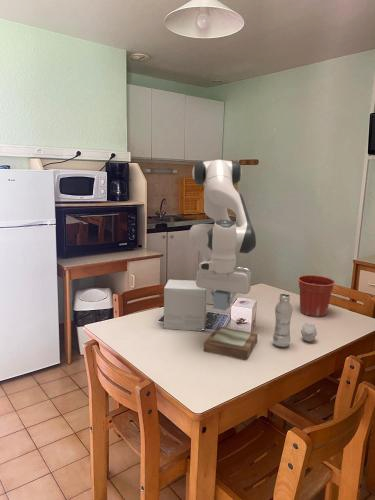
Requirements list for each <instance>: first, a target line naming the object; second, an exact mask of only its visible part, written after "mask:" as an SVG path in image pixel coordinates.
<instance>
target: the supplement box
mask: <svg viewBox="0 0 375 500" xmlns="http://www.w3.org/2000/svg"><path fill="white" fill-rule="evenodd" d="M206 295H207V289H206V288H200V287H197V285H196V280H191V279H190V280H187V279H186V280H185V279H182V280H181V279H168V280H167V282H166V284H165V286H164V287H163V329H164V330H168V329H169V330H178V331H179V330H180V331H181V330H183V331H195V332H196V331H197V332H203V331H202V329H204V328H205V329H206V324H205V323H207V303H206Z"/></svg>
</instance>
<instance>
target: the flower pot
mask: <svg viewBox="0 0 375 500" xmlns="http://www.w3.org/2000/svg"><path fill="white" fill-rule="evenodd" d="M297 281H298V287H299V312H300V313H301V314H303V315H304V316H311V317H313V318H322V317H326V316H327V314H328V311H329V310H328V309H329V306H330V300H331V296H332V295H331V294H332V292H333V288H334V285H335V283H336V281H335V280H334V279H332V278H329V277H327V276H322V275H321V276H320V275H314V274H313V275H300V276H298V277H297Z"/></svg>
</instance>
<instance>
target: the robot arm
mask: <svg viewBox="0 0 375 500" xmlns="http://www.w3.org/2000/svg"><path fill="white" fill-rule="evenodd" d="M242 169H243V168H242V166H241V163H240V162H239V161H237V160H225V159H215V160H205V161H203V160H201V161H200V160H199V161H196V162H195V163H194V165H193V168H192V170H191V171H192V172H191V176H192V179H193V180H194V181H193V182H194V183H195V184H196V185H199V186H204V189H203V190H204V191H203V212H204V213H205V215H206V216H207V217H209V219H210V218H211V219H212V220H214V223H200V224H199V223H198V224H193V225H192V226H191V227H190V229H189V231H188V237H189V238H188V239H189V240H190V242H191V243H192V245H194V246H195V247H196V248H197V249H198V251H199V253H200V255H201V258H202V261H201V262H200V263H199V264H198V270H197V272H196V277H195V281H196V285H197V287H200V288H206V289H207V295H206V305H207V304H208V305H213V297H214V292H215V291H216V290H220V291H227V292H231V298H228V303H230V305H231V304H233V303H234V298H235V296H237V294H240V295H241V294H242V295H247V294H249V293H250V292H251V286H252V285H251V279H252V271H251V270H249V269H248V268H247V267H241V266H240V267H239V266H237V255H236V253H239V254H249V253H250V252H252V251H253V250H254V249H255V248H256V245H257V237H256V232H255V229H254V228H253V225H252V222H251V219H250V216H249V213H248V208H247V206H246V203H245V199H244V196H243V195H242V194H241V193H240V192H238V191H237V190H236V188H235V187H234V185H237V184H238V183H239V182H240V181H241V179H242V175H243V170H242ZM228 210H229V211H232V212H234V214H235V216H236V219H237V223H238V226H237V224H236V223H235V221H233V220H231V218H230V216H229V212H228Z"/></svg>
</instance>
